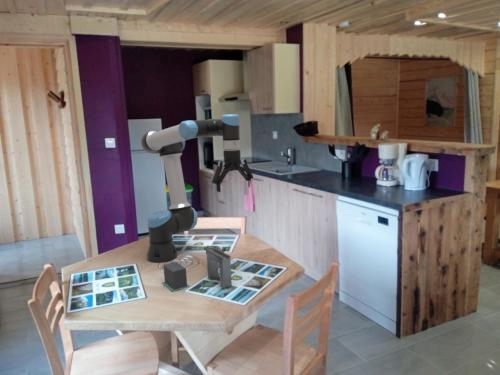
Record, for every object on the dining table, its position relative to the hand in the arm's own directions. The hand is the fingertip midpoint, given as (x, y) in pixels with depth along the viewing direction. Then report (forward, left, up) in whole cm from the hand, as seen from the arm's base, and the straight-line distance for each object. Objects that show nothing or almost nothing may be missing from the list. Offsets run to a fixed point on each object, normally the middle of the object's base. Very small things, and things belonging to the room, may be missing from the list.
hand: (233, 196), depth 186 cm
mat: (-2, -30, -35) cm, 46 cm away
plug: (-2, -30, -34) cm, 46 cm away
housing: (+7, -14, -35) cm, 38 cm away
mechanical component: (-9, -6, -35) cm, 37 cm away
